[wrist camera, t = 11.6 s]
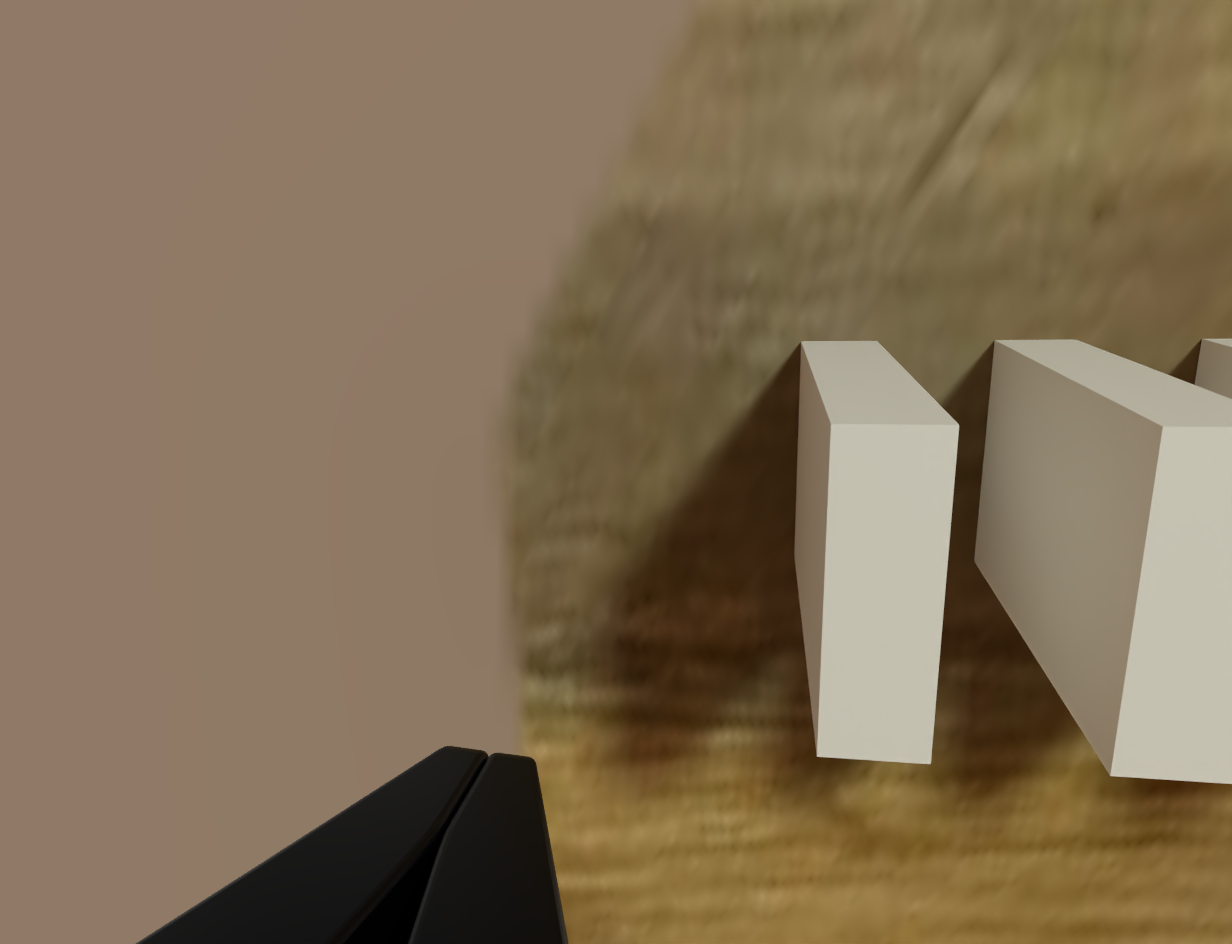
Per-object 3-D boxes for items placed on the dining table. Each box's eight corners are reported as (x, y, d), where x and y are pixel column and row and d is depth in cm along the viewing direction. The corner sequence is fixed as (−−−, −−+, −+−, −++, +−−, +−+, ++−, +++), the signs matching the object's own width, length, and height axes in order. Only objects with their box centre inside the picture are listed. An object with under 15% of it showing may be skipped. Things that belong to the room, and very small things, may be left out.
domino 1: (876, 340, 19) (959, 425, 11) (864, 557, 20) (930, 764, 12) (801, 341, 19) (830, 423, 11) (794, 555, 20) (817, 757, 13)
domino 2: (1075, 339, 18) (1307, 427, 10) (1049, 563, 19) (1235, 783, 12) (994, 340, 18) (1162, 426, 11) (973, 561, 20) (1110, 775, 12)
